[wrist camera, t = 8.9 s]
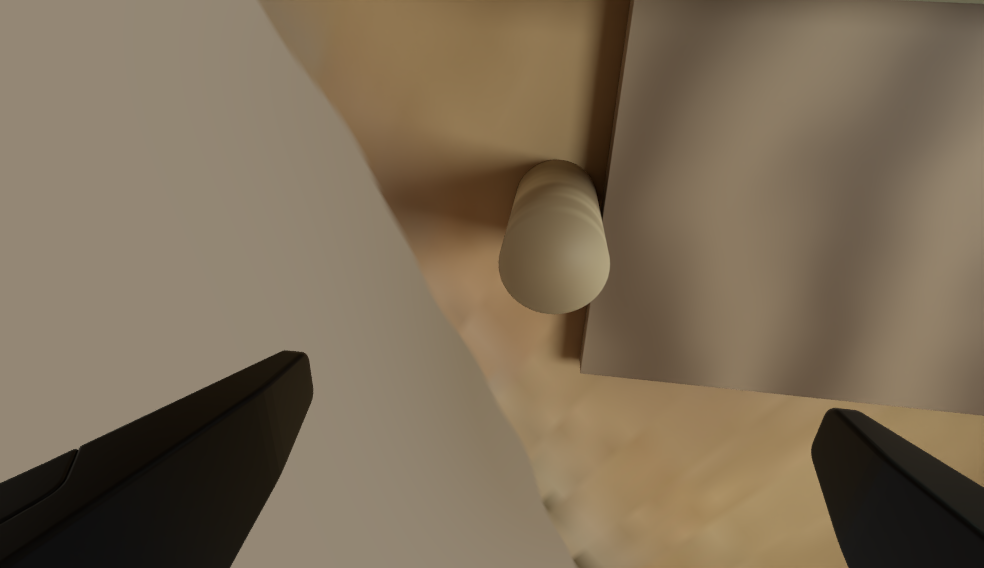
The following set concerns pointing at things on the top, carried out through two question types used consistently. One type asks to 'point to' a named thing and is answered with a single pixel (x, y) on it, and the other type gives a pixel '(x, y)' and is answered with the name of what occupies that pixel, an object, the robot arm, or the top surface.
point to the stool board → (798, 201)
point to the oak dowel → (555, 240)
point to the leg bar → (955, 1)
